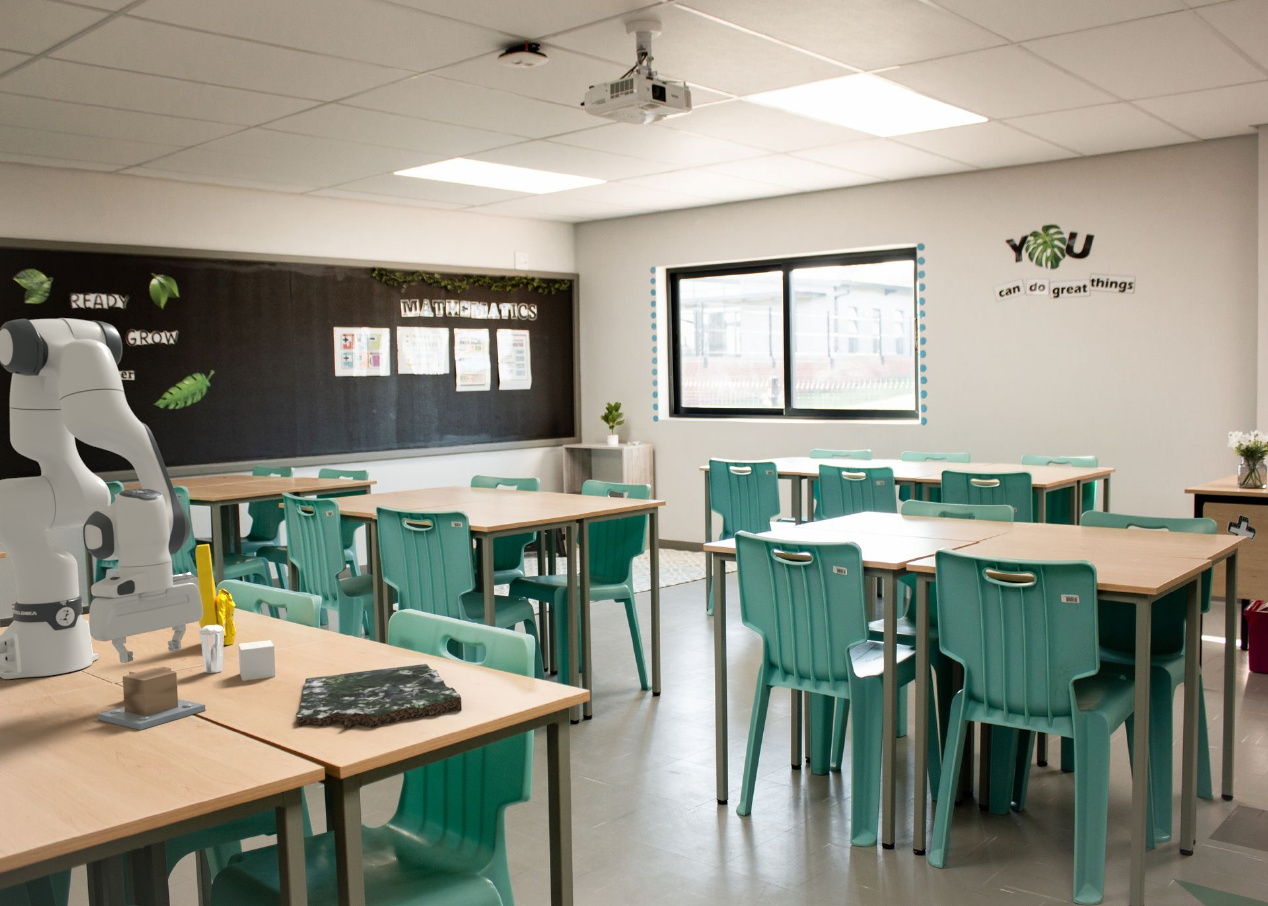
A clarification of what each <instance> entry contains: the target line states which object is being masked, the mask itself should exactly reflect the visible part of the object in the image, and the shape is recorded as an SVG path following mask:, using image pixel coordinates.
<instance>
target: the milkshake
mask: <svg viewBox="0 0 1268 906" xmlns="http://www.w3.org/2000/svg"><path fill="white" fill-rule="evenodd" d="M225 624H226V621H225V623H224V626H225ZM224 626H223V627H222V626H219V625H207V626H205V627H203V628H202V629H201V628H200V630H199V632H198V633H199V638H200V645H201V652H202V659H203V669H204V673H206V674H216V673H220V672H223V669H224V646H225V645H224Z"/></svg>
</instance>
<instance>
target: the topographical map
mask: <svg viewBox="0 0 1268 906" xmlns="http://www.w3.org/2000/svg"><path fill="white" fill-rule="evenodd" d="M462 707H463V706H462V696H461V694H460V693H458V692H457V690H456V689H455V688H453V687H449V686H447V685H446V683H445V682H444V679H442V678H441V677H440V674H439V673H438V670H437V669H432V668H431V667H430V666H429V665H428V664H427V663H424V664H421V663H420V664H416V665H415V664H414V665H407V666H398V667H391V668H379V669H372V670H364V671H356V672H348V673H340V674H334V675H331V674H330V675H325V676H323V675H322V676H317V677H309V678H305V682H304V687H303V691H302V697H301V702H300V705H299V711H298V712H297V713H296V723H297V726H298V727H302V726H318V727H323V726H332V725H334V724H337V725H341V726H344V730H350V729H351V728H354V727H358V726H360V727H368V728H369V729H372V728H378V727H381V726H384V725H386V724H387V725H389V724H393V723H398V722H401V721H402V722H403V721H409V720H414V719H422V718H425V717H436V716H441V715H444V714H446V713H451V712H456V711H459V712H460V711H462V710H463V709H462Z"/></svg>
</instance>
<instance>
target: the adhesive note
mask: <svg viewBox="0 0 1268 906" xmlns="http://www.w3.org/2000/svg"><path fill="white" fill-rule="evenodd" d="M238 658H239V659H238V660H239V663H238V664H239V675H240V678H241V680H242V682H244V681H251V680H258V679H260V680H261V679H267V678H275V677H276V661H275V658H276V657H275V645H274V643H273V642H272V639H269V640H260V641H251V642H242V643H238Z"/></svg>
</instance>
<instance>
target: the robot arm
mask: <svg viewBox="0 0 1268 906" xmlns="http://www.w3.org/2000/svg"><path fill="white" fill-rule="evenodd" d="M122 341H123V340H122V338H121V335H120V333H119V332H118V330H117V328H116V327H115V326H114V325H112V324H110V323H107V322H104V321H100V320H95V319H93V320H85V319H78V318H65V317H59V318H39V319H37V318H36V319H28V318H20V319H13V320H9V321H6V322H4V323H3V324H2V325H1V327H0V365H1V366H2V367H3V368H4V369H5V370H6V371H7V372H9V373H11V381H10V390H9V391H10V392H9V439H10V440H9V442H10V443H11V446H12V448H13V449H14V451H16V452H17V453H18V454H20V455H21V456H24V457H26V458H28V459H30V460H33V461H35V462H37V463H38V464H39V467H40V471H41V472H40V473H41V475H39V476H28V477H17V478H5V479H4V478H3V479H1V480H0V545H1V546H2V548H3V549H4V551H5V552H6V553H7V555H8V557H9V559H10V561H11V564H12V568H13V574H14V582H15V589H16V592H15V593H16V602H15V603H13V604H11V606H14V607H13V608H12V609H11V610H12V620H13V621H12V622H11V623H10V624H9V626H7V628H6V629H4V631H3V632H2V633H1V634H0V678H2V679H3V680H11V679H20V678H35V677H48V676H53V675H60V674H66V673H70V672H75V671H78V670H79V671H80V670H82V669H85V668H88V667H90V666H92V664H93V662H94V661H96V660H99V654H98V653H97V652H94V651H93V645H92V639H93V640H94V641H99V642H109V641H111V644H112V646H113V647H114V649H115V650H116V651H117V653H119V655H118V656H119V662H120V663H123V664H126V663H130V662H133V661H134V657H133V656H134V652H133V651H131V650H128V649H127V647H126V646H125V644H127V638H128V637H133V636H137V635H143V634H146V633H151V632H155V631H160V630H165V629H169V628H172V629H171V630H172V631H174V632H173V633H174V634H173V636H172V638H171V640H169V641H167V645H168V647H167V648H168V649H167V650H168V651H169V652H177V651H180V650H182V640H183V637H184V635H185V634H186V630H187V626H186V625H188V624H192V623H199V621H200V620H201V618H202V616H203V607H202V601H201V596H200V592H199V581H198V576H196V575H194V574H193V573H192V572H184V573H180V574H173V562H172V561H173V559H172V555H175V554H177V553H178V552H179V551H180V550H181V549H182V548H183V547H184V546H185V545H186V543H187V541H188V540H189V537H190V535H191V523H190V519H189V516H188V514H187V512H186V511H185V509H184V507H183V506H182V505H183V504H181V502H180V500H179V498H178V495H177V494H176V490H175V487H174V486H173V483H172V480H171V478H170V475H169V472H168V470H167V467H166V464H165V461H164V459H163V457H162V454H161V452H160V448H159V447H158V446H159V445H158V442H157V441H156V439H155V436H154V435H153V432H152V430H151V429H150V427H149V426H148V425H147V424H146V423H144V422H142V421H141V420H140V419H138V417H137V416H136V415H135V414H134V412H133V411H132V409H131V407H130V405H129V404H128V401H127V397H126V394H125V389H124V386H123V381H122V378H121V374H120V371H119V368H118V365H119V363H120V362H121V360H122V357H123V342H122ZM75 438H76V439H77V440H79V441H81V442H83V443H84V444H87V445H89V446H92V447H94V448H95V447H96V448H99V449H103V450H106V451H109V452H112V453H114V454H117V455H119V456H121V457H122V458H124V459H126V460H127V461H128V462H129V463H130V464H131V465H132V466H133V468H134V471H135V473H136V475H137V478H138V481H139V483H140V485H141V488H130V489H125V490H122V491H119V492H118V493H117V494H116V496H115V498H114V499H115V500H114V501H113V502H112V495H111V492H110V489H109V487H108V485H107V483H106V482H105V481H104V480H103V479H102V478H101V477H100V476H98V475H97V474H95V473H94V472H92V471H91V470H90V469H89V468H88V467H87V466H86V464H85V463H84V461H83V460H82V458H81V457H80V455H79V452H78V449H77V446H76V439H75ZM80 527H83V529H82V537H83V543H84V547H85V550H86V551H87V552H88V553H90V555H91V556H93V557H94V558H95V559H98V560H100V561H117V560H118V563H117V570H118V571H116V572H114V573H112V574H111V575H109V576H107V577H105V578H103V579H101V580H99V581H97V582H94V583H93V584H92V585H91V587H90V592H91V595H92V596H93V597H94V599H92V601H91V603H90V607H89V612H88V613H89V617H88V618H89V619H88V620H89V621H88V620H87V619H85V618H84V617H83V615H82V614H83V612H84V610H83V608H84V607H83V606H84V602H83V597H82V595H81V594H80V585H79V584H80V583H79V582H80V581H79V569H78V568H79V567H78V565H79V564H78V561H77V560H76V558H75V556H74V555H73V554H72V553H70V552H69V551H66V550H65V549H62V548H59V547H56V546H53V545H52V544H50V542H49V541H48V538H47V531H55V530H63V529H72V528H80Z"/></svg>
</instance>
